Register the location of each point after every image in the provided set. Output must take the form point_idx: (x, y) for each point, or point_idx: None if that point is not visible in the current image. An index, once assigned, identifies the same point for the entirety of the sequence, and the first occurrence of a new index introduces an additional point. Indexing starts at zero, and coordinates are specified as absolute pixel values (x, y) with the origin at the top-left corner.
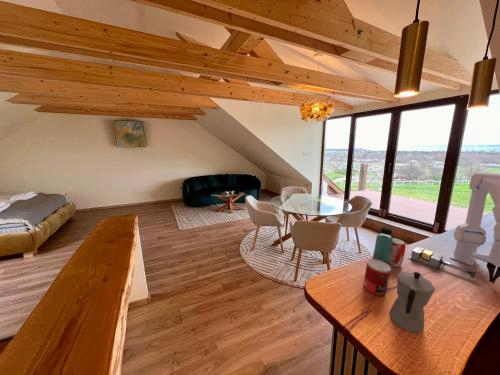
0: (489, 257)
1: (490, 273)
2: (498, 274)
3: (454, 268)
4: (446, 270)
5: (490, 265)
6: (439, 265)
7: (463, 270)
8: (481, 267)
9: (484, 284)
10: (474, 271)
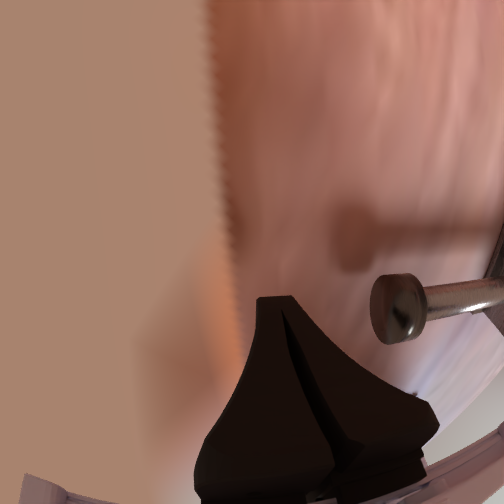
0: None
1: (334, 358)
2: (265, 386)
3: (476, 280)
4: (478, 253)
5: (391, 457)
6: (498, 272)
7: (451, 289)
8: None
9: (298, 276)
10: (412, 321)
